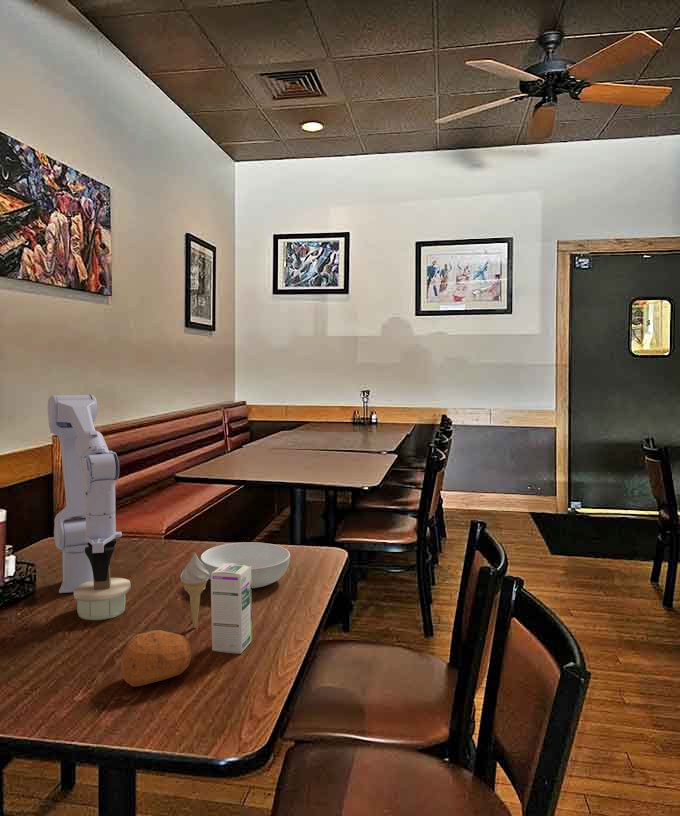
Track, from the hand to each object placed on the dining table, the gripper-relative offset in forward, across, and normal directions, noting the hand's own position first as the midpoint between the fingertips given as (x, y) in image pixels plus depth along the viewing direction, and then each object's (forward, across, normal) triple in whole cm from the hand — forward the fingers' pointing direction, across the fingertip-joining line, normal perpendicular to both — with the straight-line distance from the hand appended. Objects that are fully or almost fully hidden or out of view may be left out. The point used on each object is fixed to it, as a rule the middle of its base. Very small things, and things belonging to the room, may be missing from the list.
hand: (101, 578), depth 132 cm
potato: (+7, -32, -11) cm, 35 cm away
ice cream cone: (+7, -13, -18) cm, 23 cm away
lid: (+3, 0, 0) cm, 3 cm away
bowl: (+7, 0, 0) cm, 7 cm away
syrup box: (+7, -23, -24) cm, 34 cm away
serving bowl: (+7, +11, -31) cm, 34 cm away
